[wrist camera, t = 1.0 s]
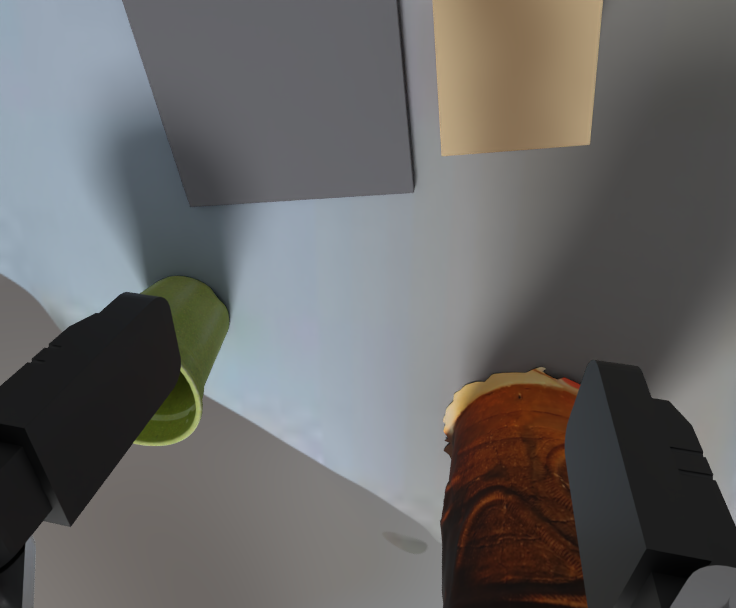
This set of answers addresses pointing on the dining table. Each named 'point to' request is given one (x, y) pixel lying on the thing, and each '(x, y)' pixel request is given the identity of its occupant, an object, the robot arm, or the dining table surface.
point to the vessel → (510, 496)
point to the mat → (278, 96)
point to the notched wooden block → (515, 73)
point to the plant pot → (187, 356)
